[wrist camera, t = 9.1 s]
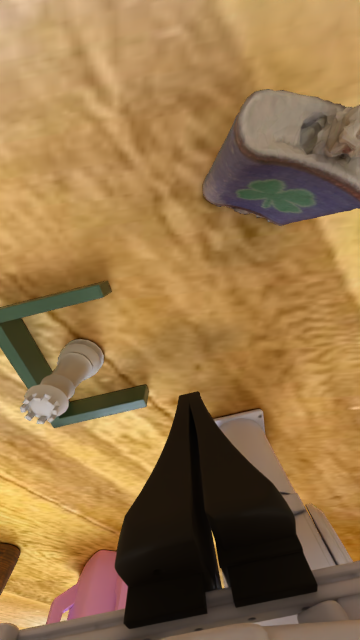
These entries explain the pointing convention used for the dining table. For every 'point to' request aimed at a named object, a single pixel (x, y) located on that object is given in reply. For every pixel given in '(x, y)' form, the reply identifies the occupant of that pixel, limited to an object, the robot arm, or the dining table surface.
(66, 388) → the rook chess piece
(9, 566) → the utensil holder
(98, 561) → the teakettle
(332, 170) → the flask
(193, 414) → the robot arm
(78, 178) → the dining table surface
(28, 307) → the bay
